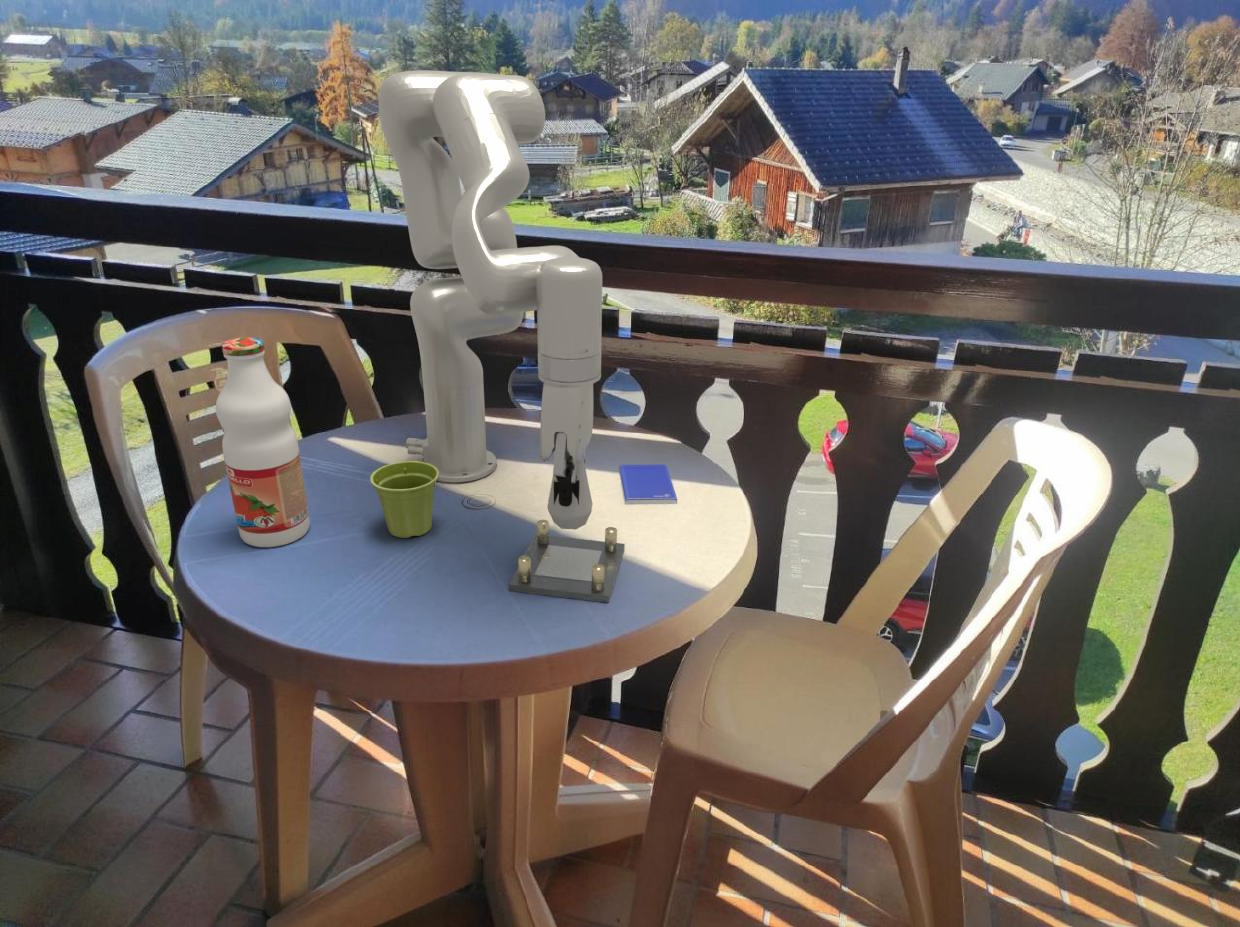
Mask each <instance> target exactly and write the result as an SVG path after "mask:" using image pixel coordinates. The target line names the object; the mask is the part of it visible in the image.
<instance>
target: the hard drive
mask: <svg viewBox="0 0 1240 927" xmlns="http://www.w3.org/2000/svg"><path fill="white" fill-rule="evenodd" d="M618 471H619V476H620V483H621V489H622V493H623V494H622V495H623V499H624V504H625V506H627V505H628V506H629V505H677V504H678V497H677V494H676V492H675V488H674V484H673V480H672V478H671V475H670V472H669V468H668V465H666V464H620V465H619V467H618Z"/></svg>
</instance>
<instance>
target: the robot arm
mask: <svg viewBox="0 0 1240 927" xmlns="http://www.w3.org/2000/svg"><path fill="white" fill-rule="evenodd" d="M379 88H380V89H379V93H378V111H379V112H378V113H379V119H380V120H379V121H380V126H381V129H382V132H383V135H384V138H385V139H384V140H385V141H386V144H387V146H388V149H389V151H390V153H391V155H392V158H393V161H395V162H394V163H395V165H396V167H397V170H398V173H399V178H400V182H401V189H402V194H403V195H402V196H403V203H404V208H405V216H406V221H407V223H406V224H407V226H408V227H407V229H408V233H409V234H408V235H409V240H410V246H411V250H412V253H413V256H414V258H415V260H416V261H417V263H418V264H419V265H420V266H421V267H423V268H426V269H432V270H433V269H434V270H445V269H447V270H448V269H458V271H459V273H460V276H451V277H445V278H444V277H443V278H436V279H432V280H428V281H425V282H423V283H421V284H419V285H418V286H417V287H416V288H414V290H413V291H412V294H411V296H410V301H409V306H410V314H411V318H412V321H413V323H412V324H413V325H414V326H413V327H414V330H415V333H416V338H417V343H418V348H419V355H420V364H421V365H420V366H421V373H422V374H421V375H422V376H421V377H422V383H423V384H422V387H423V397H424V409H425V422H426V424H425V425H426V434H427V435H426V436H427V437H426V438H424V439H421V438H420V439H419V438H415V437H408V438H407V439H406V442H405V447H406V451H407V454H408V455H417V456H418V455H420V456H421V457H422V458H421V459H420V461H419V462H424V463H428V464H431V465H433V466H434V467H436V468H437V469H438V471H439V476H438V479H437V480H436V482H437V481H438V482H441V483H452V484H453V483H455V484H456V483H466V482H472V481H476V480H480V479H482V478H485V477H486V476H488V475H490V474H491V473H493V472H494V471H495V469H496V467H497V457H496V455H495V454H494V453H493V452H491V451H489V450H488V449H487V436H486V435H487V432H486V431H487V430H486V410H485V408H486V406H485V391H484V390H485V389H484V369H483V366H482V362H481V360H480V358H479V357H478V356H477V354H476V353H475V352H474V351H473V350H472V349H471V348H470V347H469V346H468V344H467V341H468V340H472V339H477V338H482V337H488V336H496V335H502V334H507V333H510V332H513V331H515V330H517V329H518V328H519V327H520V325H521V323H522V321H523V318H524V313H525V312H526V313H527V312H532V311H533V312H535V311H536V312H537V313H536V319H537V320H536V321H537V324H536V325H537V327H536V328H537V373H538V374H537V377H538V379H539V380H540V381H541V382H542V383H543V385H542V386H543V388H542V394H541V405H540V406H541V407H540V426H539V427H540V428H539V432H540V434H539V435H540V436H539V438H540V439H539V458H540V460H541V462H546V461H549V460H550V458H551V456H552V455H553V466H552V467H553V469H552V477H553V476H554V504H555V501H556V499H557V496H558V493H559V504H560V505H561V506H566V507H567V506H570V505H571V503H572V492H573V494H574V495H575V497H576V498H577V501H578V505H579V491H580V480H577V462H579V461H580V459H581V458H582V456H583V459H584V464H585V465H586V451H587V448H588V446H589V443H590V442H591V439H592V435H593V427H594V384H595V383H597V382H599V381H600V380H601V378H602V326H603V325H602V321H603V320H602V319H603V318H602V317H603V316H602V314H603V272H602V270H601V269H602V268H601V267H600V265H599V264H598V263H597V262H596V261H593V260H591V259H589V258H583V257H580V256H578V254H576V253H575V252H574V251H573V249H570V248H568V247H567V246H562V245H543V246H528V247H526V246H525V247H518V244H517V236H516V232H515V227H514V223H513V221H512V219H511V217H510V215H509V213H508V211H507V210H506V209H505V207H507V206H508V205H510V204H511V203H513V202H515V200H517V199H518V198H519V197H520V196H521V195H522V194H523V193H524V191H525V190H526V189H527V187H528V185H529V181H530V176H531V175H530V170H529V167H528V166H529V165H528V164H527V162H526V160H525V157H524V155H523V152H522V150H521V148H520V144H522V145H523V144H531V143H534V142H535V141H537V140H538V139H539V138H540V137H541V135H542V134H543V131H544V129H545V124H546V123H545V122H546V109H545V104H544V102H543V101H544V100H543V98H542V95H541V93H540V91H539V90H538V88H537V87H536V85H535V84H534V83H533V82H532V81H531V80H530V79H529V78H526V77H525V76H523V75H518V74H517V75H516V74H499V73H492V72H474V71H473V72H472V71H471V72H470V71H447V70H446V71H445V70H429V69H427V70H423V69H422V70H421V69H419V70H406V71H400V72H397V73H394V74H391V75H389V76H387V77H386V79H384V81H383V82H382V84H381V86H380V87H379ZM436 137H437V138H439V137H440V138H443V140H444V142H445V144H446V147H447V150H448V152H449V154H450V155H449V154H448V152H447V151H446V150H445V148H443V146H441V144H439V142H437V141H436V140H435V139H434V138H436ZM461 184H462V186H463V188H464V193H463V194H462V188H461ZM586 444H587V446H586ZM567 455H570V456H573V457H567ZM566 464H568V465H571V470H570V468H567V467H566ZM585 469H586V467H585Z"/></svg>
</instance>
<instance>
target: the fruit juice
mask: <svg viewBox="0 0 1240 927" xmlns="http://www.w3.org/2000/svg"><path fill="white" fill-rule="evenodd" d="M221 350H222V351H221V352H222V353H223V357H224V358H225V359H226V361H227V362H226V363H227V374H226V380H225V384H224V386H223V388H222V390H221V391H220V393H219V395H218V396H217V399H216V403H215V414H216V417H217V420H218V422H219V424H220V426H221V427H222V429H223V436H222V442H221V444H222V453H223V460H224V464H225V469H226V470H225V471H226V474H227V480H228V483H229V489H230V494H231V500H232V505H233V509H234V514H235V518H236V524H237V528H238V529H237V530H238V534H239V536H240V538H241V540H242V541H243V542H244V543H245V544H247V545H249V546H251V547H256V548H257V547H258V548H274V547H281V546H285V545H288V544H292V543H293V542H296V541H297V540H299V539H301V538H302V537H304V536H305V535H306V534H307V532H309V529H310V525H311V524H310V523H311V522H310V520H311V519H310V513H309V507H308V506H309V505H308V500H307V492H306V487H305V480H304V474H303V468H302V461H301V455H300V447H299V443H298V439H297V438H298V437H297V435H296V432H295V430H294V428H293V426H292V425H291V422H290V421H291V420H290V419H291V413H292V405H291V400H290V397H289V394H288V393H287V391H286V390H285V389H284V388H283V386H281V385H279V383H277V382H276V381H275V380H274V379H273V377H272V376H271V374H270V372H269V370H268V368H267V365H266V363H265V360H264V355H265V353H266V351H265V350H266V349H265V344H264V341H263V340H262V339H261V338H258V337H257V338H256V337H237V338H232V339H229V340H226V341H223V343H222V345H221Z"/></svg>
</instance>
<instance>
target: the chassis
mask: <svg viewBox="0 0 1240 927" xmlns="http://www.w3.org/2000/svg"><path fill="white" fill-rule="evenodd" d="M549 528H550V524H549V520H547V519H539V520H538V521H537V522H536V533H534V534H533V535H532V538H531V539H530V541H529V544H528V546H527V547H526V549H525V551H524V553H523V555H521V556H518V559H517V561H518V562H517V565H518V566H517V567H516V568H515V570H514V573H513V575H512V577H511V579H510V581H509V583H508V592H515V593H522V594H523V593H524V594H531V595H539V596H549V597H557V598H565V599H566V598H567V599H573V600H580V601H581V600H582V601H589V602H598V603H607V604H608V603H609V602H610V598H611V596H612V592H613V589H614V587H615V586H614V585H615V582H616V579H617V576H618V572H619V569H620V567H621V562H622V559H623V557H624V552H625V548H626V547H625V546H626V545H625V543H621V542H620V543H619V542H617V541H618V540H617V539H618V537H617V536H618V529H617V527H613V526H608V527H606V528H605V531H604V533H605V534H604V535H605V537H604V541H602V540H593V539H584V538H583V539H582V538H575V537H564V536H555V535H550V529H549Z"/></svg>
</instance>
